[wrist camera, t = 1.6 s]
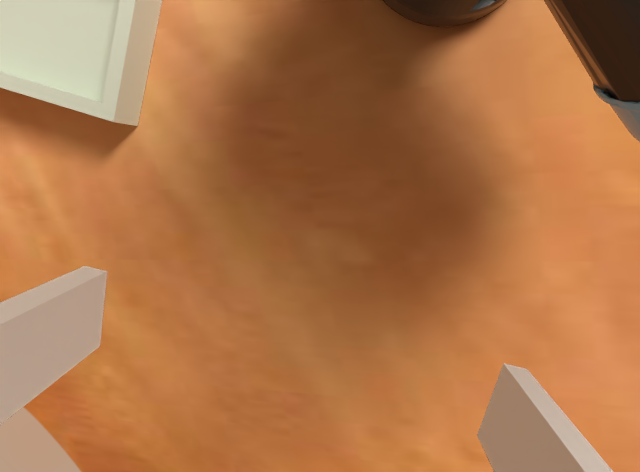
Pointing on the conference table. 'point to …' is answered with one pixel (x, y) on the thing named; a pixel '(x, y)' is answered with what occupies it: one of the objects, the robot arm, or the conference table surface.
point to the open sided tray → (80, 53)
